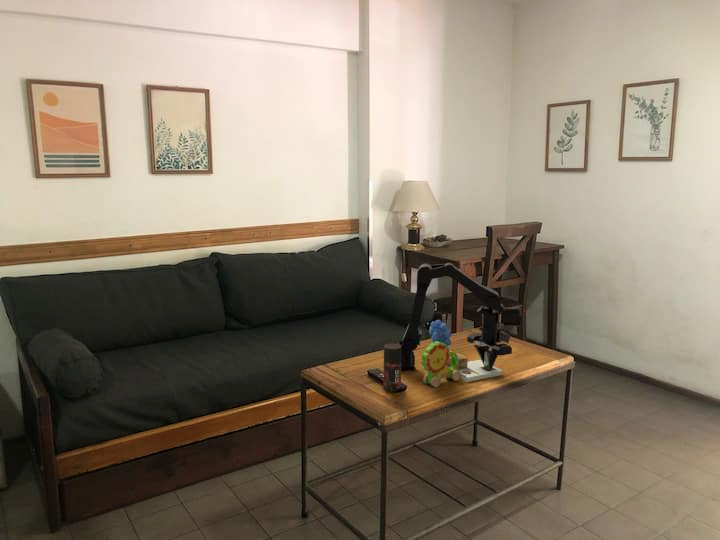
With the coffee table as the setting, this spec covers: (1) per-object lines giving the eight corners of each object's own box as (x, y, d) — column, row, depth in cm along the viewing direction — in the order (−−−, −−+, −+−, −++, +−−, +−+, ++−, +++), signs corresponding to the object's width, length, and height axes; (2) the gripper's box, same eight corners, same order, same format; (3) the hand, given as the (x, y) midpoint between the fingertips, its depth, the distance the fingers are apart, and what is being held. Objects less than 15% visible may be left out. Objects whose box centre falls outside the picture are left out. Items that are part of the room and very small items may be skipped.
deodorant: (390, 383, 202) (390, 342, 199) (404, 388, 199) (405, 345, 196) (379, 388, 198) (380, 346, 195) (393, 393, 194) (394, 350, 191)
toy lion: (450, 375, 210) (452, 335, 208) (461, 380, 206) (463, 339, 203) (417, 385, 201) (418, 343, 198) (428, 390, 197) (429, 347, 194)
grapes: (422, 347, 242) (422, 319, 240) (433, 344, 246) (434, 316, 244) (443, 354, 233) (444, 325, 231) (454, 350, 237) (455, 322, 235)
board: (466, 382, 204) (466, 376, 204) (445, 370, 216) (445, 365, 215) (502, 374, 211) (502, 369, 211) (479, 363, 223) (480, 358, 222)
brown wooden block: (453, 369, 211) (454, 360, 210) (444, 364, 216) (444, 355, 215) (467, 367, 213) (467, 357, 213) (457, 361, 219) (457, 353, 218)
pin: (487, 371, 211) (488, 353, 210) (481, 368, 214) (482, 350, 212) (493, 370, 212) (494, 351, 211) (488, 367, 215) (489, 349, 214)
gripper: (525, 329, 205) (522, 371, 208) (490, 316, 222) (488, 355, 225) (500, 333, 200) (498, 376, 203) (467, 319, 217) (465, 359, 220)
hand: (487, 366), depth 213 cm, fingers closed on pin, 3 cm apart
